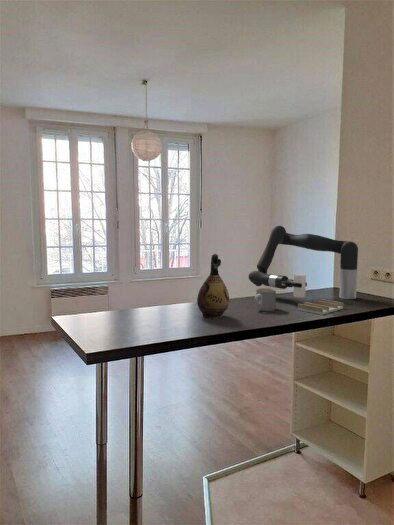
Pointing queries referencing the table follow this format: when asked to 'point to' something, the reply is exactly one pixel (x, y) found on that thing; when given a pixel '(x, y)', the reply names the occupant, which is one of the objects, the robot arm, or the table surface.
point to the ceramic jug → (213, 293)
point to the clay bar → (298, 291)
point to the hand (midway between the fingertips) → (303, 285)
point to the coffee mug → (265, 299)
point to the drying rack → (321, 306)
